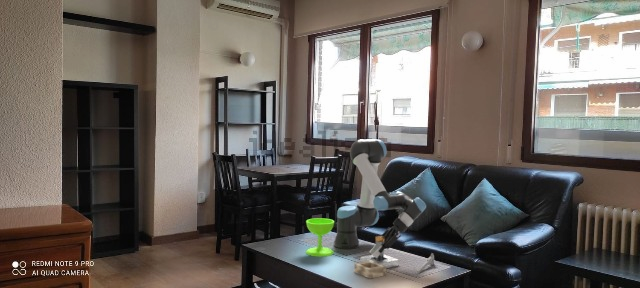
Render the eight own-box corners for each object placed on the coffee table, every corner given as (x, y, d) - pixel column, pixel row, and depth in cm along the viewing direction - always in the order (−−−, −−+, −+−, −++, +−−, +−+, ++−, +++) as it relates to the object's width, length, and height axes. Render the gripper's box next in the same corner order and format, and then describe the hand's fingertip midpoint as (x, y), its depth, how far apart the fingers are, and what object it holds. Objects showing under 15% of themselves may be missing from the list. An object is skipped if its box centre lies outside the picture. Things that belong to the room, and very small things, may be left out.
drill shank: (373, 263, 238) (373, 236, 238) (379, 261, 241) (380, 235, 240) (378, 265, 234) (379, 238, 234) (385, 263, 237) (386, 237, 236)
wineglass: (334, 249, 265) (335, 218, 264) (332, 257, 249) (333, 224, 248) (307, 248, 266) (307, 217, 266) (303, 256, 250) (304, 223, 250)
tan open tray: (354, 271, 225) (354, 263, 224) (369, 268, 230) (370, 260, 230) (369, 278, 215) (370, 270, 214) (385, 275, 220) (385, 266, 220)
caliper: (432, 264, 239) (432, 252, 239) (434, 264, 239) (434, 252, 238) (415, 274, 223) (415, 261, 223) (417, 274, 222) (417, 261, 222)
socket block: (360, 262, 240) (360, 257, 239) (380, 258, 247) (380, 253, 247) (378, 269, 228) (378, 263, 228) (398, 265, 236) (398, 259, 236)
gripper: (414, 231, 232) (383, 264, 229) (400, 223, 249) (371, 254, 246) (405, 221, 230) (373, 255, 227) (391, 214, 247) (362, 245, 244)
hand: (372, 254), depth 237 cm, fingers closed on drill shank, 4 cm apart
